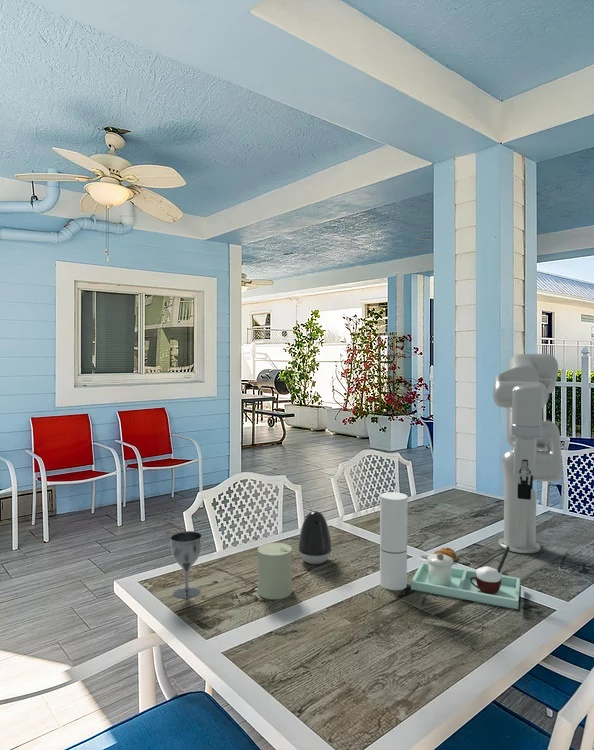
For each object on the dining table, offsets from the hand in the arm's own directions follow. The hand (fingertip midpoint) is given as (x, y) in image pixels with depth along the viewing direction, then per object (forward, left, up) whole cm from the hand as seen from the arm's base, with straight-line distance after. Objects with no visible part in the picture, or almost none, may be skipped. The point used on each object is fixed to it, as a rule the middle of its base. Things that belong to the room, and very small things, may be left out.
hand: (525, 493), depth 142 cm
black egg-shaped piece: (+9, -58, -25) cm, 64 cm away
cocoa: (+11, -8, -24) cm, 28 cm away
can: (+32, -60, -25) cm, 72 cm away
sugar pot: (+11, -20, -24) cm, 33 cm away
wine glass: (+42, -81, -25) cm, 94 cm away
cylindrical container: (+17, -32, -25) cm, 44 cm away
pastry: (-6, -22, -26) cm, 34 cm away
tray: (+11, -14, -25) cm, 31 cm away
